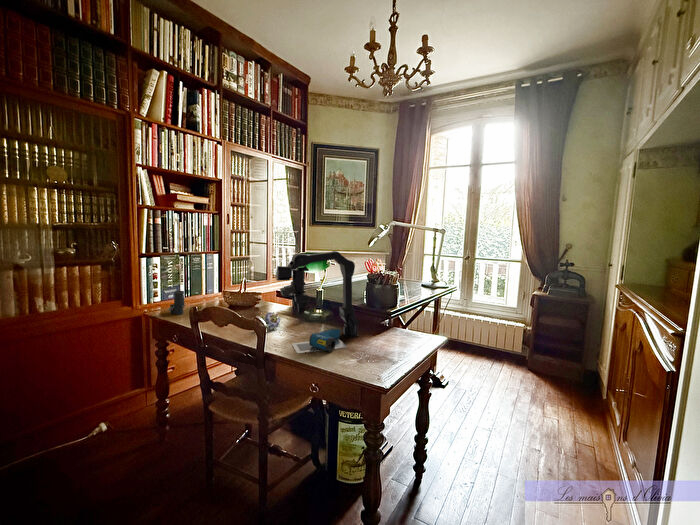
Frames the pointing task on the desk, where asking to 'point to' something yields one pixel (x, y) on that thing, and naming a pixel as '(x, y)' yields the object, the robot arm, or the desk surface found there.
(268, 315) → the passion flower
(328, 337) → the infrared thermometer
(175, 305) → the scope
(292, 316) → the desk surface
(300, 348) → the label panel
